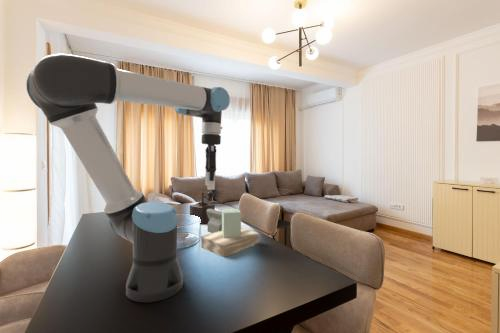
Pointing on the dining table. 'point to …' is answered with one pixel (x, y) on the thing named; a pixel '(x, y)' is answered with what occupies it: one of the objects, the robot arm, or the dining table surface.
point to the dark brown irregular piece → (202, 208)
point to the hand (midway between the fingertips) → (209, 187)
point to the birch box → (229, 242)
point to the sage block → (231, 223)
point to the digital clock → (214, 220)
